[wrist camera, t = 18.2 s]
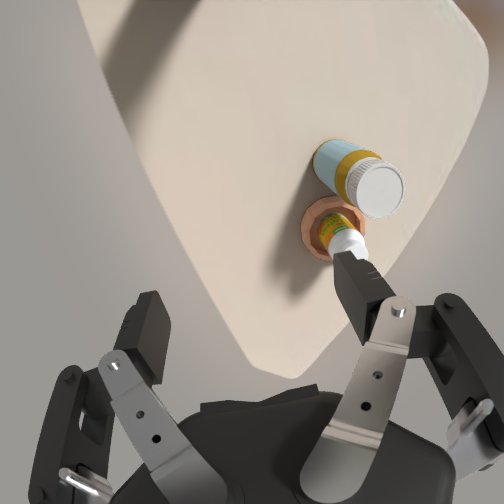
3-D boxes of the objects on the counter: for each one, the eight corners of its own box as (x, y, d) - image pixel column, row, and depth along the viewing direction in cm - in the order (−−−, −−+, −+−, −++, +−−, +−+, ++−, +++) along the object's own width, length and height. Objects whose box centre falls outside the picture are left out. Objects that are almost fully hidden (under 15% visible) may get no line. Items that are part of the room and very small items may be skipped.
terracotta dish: (291, 244, 46) (294, 251, 44) (316, 187, 42) (321, 192, 40) (342, 259, 48) (347, 266, 46) (368, 208, 44) (374, 214, 42)
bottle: (314, 135, 38) (358, 154, 25) (358, 142, 39) (414, 165, 26) (308, 181, 41) (346, 220, 28) (350, 185, 42) (400, 225, 29)
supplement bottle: (334, 204, 43) (359, 231, 34) (353, 226, 45) (379, 256, 36) (309, 228, 44) (328, 259, 36) (329, 248, 46) (350, 282, 38)
